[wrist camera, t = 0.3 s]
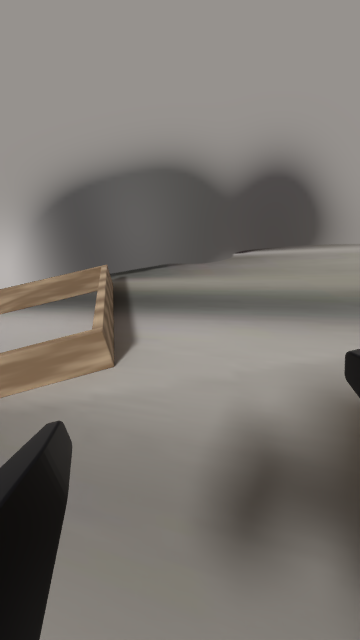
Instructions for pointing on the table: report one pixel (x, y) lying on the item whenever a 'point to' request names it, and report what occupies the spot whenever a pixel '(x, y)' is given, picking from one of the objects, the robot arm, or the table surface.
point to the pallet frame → (66, 352)
